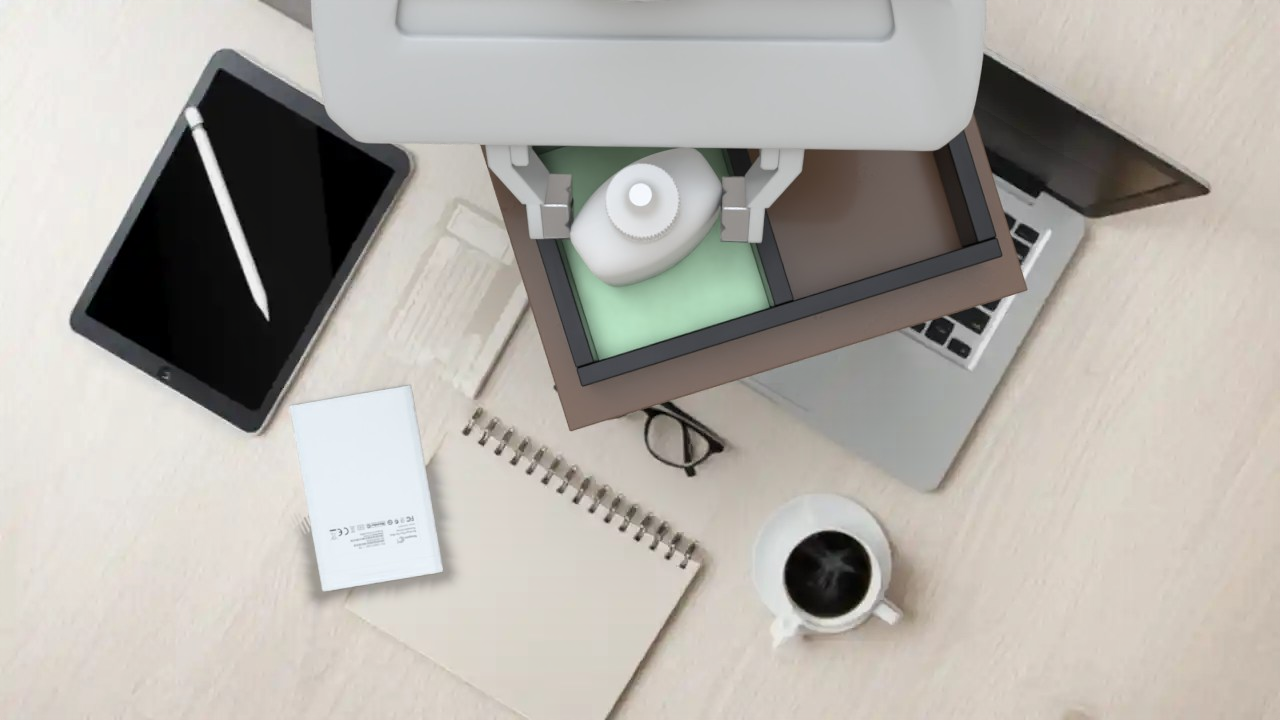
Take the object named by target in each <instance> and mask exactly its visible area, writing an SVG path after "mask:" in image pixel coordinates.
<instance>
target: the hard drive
mask: <svg viewBox="0 0 1280 720" xmlns="http://www.w3.org/2000/svg"><path fill="white" fill-rule="evenodd" d="M413 394H414V393H413V389H412V384H407V385H402V386H396V387H395V386H394V387H390V388H384V389H379V390H378V389H377V390H373V391H366V392H361V393H355V394H349V395H343V396H338V397H332V398H326V399H321V400H315V401H314V400H313V401H309V402H303V403H302V402H301V403H297V404H290V405H289V406H288V407H289V408H288V409H289V412H290V418H291V425H292V429H293V435H294V440H295V446H296V451H297V458H298V463H299V468H300V474H301V479H302V485H303V490H304V496H305V501H306V502H305V503H306V507H307V514H308V518H309V524H310V529H311V536H312V541H313V546H314V552H315V557H316V563H317V568H318V572H319V573H318V574H319V579H320V585H321V591H322V592H332V591H336V590H342V589H348V588H355V587H360V586H361V587H362V586H367V585H373V584H378V583H384V582H391V581H397V580H403V579H404V580H405V579H411V578H416V577H420V576H421V577H422V576H428V575H434V574H439V573H442V572H444V568H443V567H444V566H443V560H442V556H441V550H440V545H439V538H438V533H437V532H438V531H437V527H436V521H435V514H434V509H433V502H432V497H431V491H430V484H429V479H428V474H427V467H426V462H425V456H424V450H423V445H422V440H421V439H422V438H421V433H420V428H419V422H418V417H417V411H416V405H415V399H414V395H413Z"/></svg>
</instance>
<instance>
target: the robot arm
mask: <svg viewBox="0 0 1280 720" xmlns="http://www.w3.org/2000/svg"><path fill="white" fill-rule="evenodd" d="M987 7H988V0H310V12H311V26H312V34H313V35H312V37H313V46H314V54H315V61H316V69H317V75H318V81H319V86H320V91H321V96H322V101H323V106H324V109H325V112H326V114H327V116H328V117H329V119H330V120H332V121H333V122H334V123H335V124H336V125H337V126H338V128H340V129H341V130H342V131H344V132H345V133H346V134H347V135H348V136H349V137H351V139H353V140H354V141H356V142H359V143H363V144H396V145H397V144H400V145H401V144H402V145H403V144H406V145H409V144H410V145H467V146H468V145H470V146H473V145H474V146H475V145H476V146H478V145H479V146H480V145H485V147H486V154H487V161H488V167H489V168H490V169H491V170H492V171H493V172H494V173H495V174H496V176H497V177H498V178H499V179H500V180H501V181H502V182H503V183H504V184H505V186H506V187H507V188H508V189H509V190H510V191H511V192H512V193H513V194H514V196H515V197H516V198H517V199H518V200H519V201H520V202H521V203H522V204H526V209H527V218H528V227H529V235H530V238H531V239H570V240H571V238H570V230H571V226H572V224H573V222H574V214H575V207H574V199H573V198H572V196H573V178H572V174H549V173H550V172H549V171H548V170H547V168H546V167H545V166H544V164H543V163H542V162H541V160H540V159H539V157H538V156H537V155H536V153H535V152H534V151H533V149H532V145H538V146H610V147H683V148H755V149H759V151H760V156H759V157H758V158H757V160H756V161H755V162H754V164H753V165H752V166H751V168H750V169H749V170H748V172H747V173H746V174H745V177H722V199H721V206H720V242H741V243H761V242H762V236H763V225H764V214H765V208H769V207H770V206H771V205H772V204H773V203H774V202H775V201H776V199H777V198H778V197H779V196H780V195H781V194H782V193H783V192H784V191H785V189H786V188H787V187H788V186H789V185H790V184H791V183H792V182H793V181H794V179H795V178H796V177H797V176H798V175H799V174H800V173H801V172H802V166H803V158H804V150H805V149H825V150H894V151H935V150H938V149H940V148H942V147H943V146H944V145H946V144H947V143H948V142H950V141H951V140H952V139H953V138H954V137H956V136H957V135H958V134H959V133H960V132H961V131H962V130H964V129H965V128H966V127H967V126H968V124H969V123H970V120H971V118H972V114H973V113H974V110H975V106H976V102H977V96H978V93H979V92H978V91H979V86H980V80H981V76H982V75H981V74H982V66H983V61H984V52H985V44H986V29H987V11H988V9H987Z"/></svg>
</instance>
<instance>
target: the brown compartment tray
mask: <svg viewBox="0 0 1280 720" xmlns="http://www.w3.org/2000/svg"><path fill="white" fill-rule="evenodd" d="M976 119H977V118H976V116H975V113H974V112H973V114H972V118H971V120H970V123H969V124H968V126H967V127H966V128H965V129H964V130H962V131H961V132H960V133H959V134H958V135H957V136H956V137H954V138H953V139H952V140H951V141H950V142H948V143H947V144H946V145H944V146H943V147H942V148H940V149H938V150H935V151H894V150H825V149H805V150H804V158H803V166H802V172H801V173H800V174H799V175H798V176H797V177H796V178H795V179H794V181H793V182H792V183H791V184H790V185H789V186H788V187H787V188H786V189H785V191H784V192H783V193H782V194H781V195H780V196H779V197H778V198H777V199H776V201H775V202H774V203H773V204H772V205H771V206H770V207H769V208H765V214H764V225H763V236H762V242H761V243H741V242H720V211H719V215H718V218H717V220H716V222H715V224H714V225H713V227H712V228H711V230H710V231H709V233H708V234H707V235H706V237H705V238H704V239H703V240H702V241H701V243H700V244H699V245H698V246H697V247H696V248H695V249H694V250H693V251H692V252H691V253H690V254H689V255H688V256H686V257H685V258H684V259H683V260H681V261H680V262H679V263H677V264H676V265H675V266H673V267H671V268H670V269H668V270H666V271H665V272H663V273H661V274H659V275H657V276H655V277H652V278H650V279H647V280H644V281H641V282H638V283H635V284H631V285H626V286H619V287H615V286H609V285H608V284H606V283H605V282H603V281H602V280H600V279H599V278H598V277H597V276H595V275H594V274H593V273H592V272H591V271H590V269H589V268H588V267H587V265H586V264H585V262H584V261H583V260H582V258H581V257H580V255H579V254H578V252H577V251H576V249H575V247H574V246H573V244H572V242H571V240H570V239H531V238H530V235H529V227H528V218H527V209H526V204H522V203H521V202H520V201H519V200H518V199H517V198H516V197H515V196H514V194H513V193H512V192H511V191H510V190H509V189H508V188H507V187H506V186H505V184H504V183H503V182H502V181H501V180H500V179H499V178H498V177H497V176H496V174H495V173H494V172H493V171H492V170H491V169H490V168H489V167H488V161H487V154H486V147H485V145H479V146H480V150H481V152H482V155H483V159H484V162H485V165H486V168H487V171H488V175H489V177H490V181H491V184H492V187H493V190H494V194H495V197H496V200H497V204H498V206H499V210H500V213H501V216H502V219H503V222H504V226H505V229H506V232H507V236H508V239H509V242H510V244H511V248H512V252H513V254H514V258H515V261H516V265H517V268H518V271H519V274H520V277H521V279H522V284H523V286H524V290H525V293H526V296H527V299H528V303H529V306H530V309H531V312H532V315H533V319H534V322H535V325H536V327H537V331H538V334H539V338H540V341H541V344H542V347H543V351H544V354H545V357H546V361H547V363H548V366H549V367H548V368H549V370H550V374H551V376H552V379H553V383H554V386H555V389H556V393H557V396H558V399H559V402H560V405H561V408H562V411H563V414H564V417H565V421H566V424H567V427H568V430H569V432H574V431H577V430H581V429H583V428H587V427H590V426H593V425H596V424H600V423H603V422H606V421H609V420H613V419H616V418H619V417H623V416H625V415H629V414H632V413H636V412H639V411H642V410H645V409H650V408H653V407H655V406H658V405H661V404H664V403H668V402H671V401H674V400H675V401H676V400H677V399H682V398H685V397H688V396H691V395H693V394H697V393H701V392H705V391H707V390H710V389H713V388H717V387H720V386H723V385H726V384H730V383H732V382H736V381H739V380H742V379H745V378H748V377H749V378H750V377H752V376H756V375H758V374H762V373H766V372H768V371H772V370H775V369H779V368H782V367H784V366H788V365H791V364H794V363H797V362H798V363H799V362H801V361H805V360H807V359H810V358H814V357H816V356H821V355H823V354H827V353H830V352H833V351H836V350H840V349H843V348H846V347H850V346H852V345H856V344H859V343H862V342H866V341H869V340H872V339H876V338H878V337H881V336H885V335H889V334H892V333H895V332H898V331H901V330H905V329H909V328H911V327H914V326H918V325H921V324H924V323H927V322H930V321H934V320H937V319H940V318H943V317H946V316H951V315H954V314H956V313H960V312H963V311H965V310H969V309H973V308H976V307H979V306H983V305H986V304H988V303H992V302H996V301H999V300H1001V299H1005V298H1008V297H1012V296H1014V295H1018V294H1021V293H1024V292H1027V291H1028V286H1027V283H1026V280H1025V275H1024V273H1023V270H1022V266H1021V263H1020V260H1019V257H1018V253H1017V250H1016V246H1015V243H1014V240H1013V237H1012V234H1011V231H1010V228H1009V224H1008V221H1007V217H1006V215H1005V214H1006V213H1005V211H1004V208H1003V205H1002V201H1001V198H1000V194H999V191H998V188H997V184H996V181H995V179H994V176H993V172H992V168H991V166H990V163H989V159H988V156H987V152H986V149H985V145H984V143H983V138H982V136H981V132H980V129H979V125H978V124H977V120H976ZM676 148H683V147H610V146H538V145H532V149H533V151H534V152H535V153H536V155H537V156H538V157H539V159H540V160H541V162H542V163H543V164H544V166H545V167H546V168H547V170H548V171H549V172H550V173H549V174H572V178H573V196H572V198H573V199H574V207H575V214H574V220H575V218H576V216H577V215H578V213H579V211H580V210H581V208H582V207H583V206H584V204H585V203H586V202H587V200H588V199H589V198H590V197H591V196H592V194H593V193H594V192H595V191H596V190H597V189H598V188H599V187H600V186H601V185H602V184H603V183H604V182H606V181H607V180H608V179H609V178H610V177H611V176H613V175H614V174H616V173H617V172H618V171H620V170H621V169H623V168H625V167H626V166H628V165H630V164H632V163H633V162H635V161H638V160H640V159H642V158H644V157H647V156H650V155H652V154H656V153H659V152H662V151H666V150H671V149H676ZM693 149H696V150H697V151H698V152H700V153H701V154H702V155H703V157H704V158H705V159H706V161H707V162H708V164H709V165H710V166H711V168H712V169H713V171H714V172H715V174H716V176H717V177H718V179H719V181H720V182H721V184H722V177H745V174H746V173H747V172H748V170H749V169H750V168H751V166H752V165H753V164H754V162H755V161H756V160H757V158H758V157H759V156H760V151H759V149H755V148H693Z"/></svg>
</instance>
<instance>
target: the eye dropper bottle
mask: <svg viewBox="0 0 1280 720" xmlns="http://www.w3.org/2000/svg"><path fill="white" fill-rule="evenodd" d="M721 199H722V184H721V182H720V181H719V179H718V177H717V176H716V174H715V172H714V171H713V169H712V168H711V166H710V165H709V164H708V162H707V161H706V159H705V158H704V157H703V155H702V154H701V153H700V152H698V151H697V150H696V149H693V148H676V149H671V150H666V151H662V152H659V153H656V154H652V155H650V156H647V157H644V158H642V159H640V160H638V161H635V162H633V163H632V164H630V165H628V166H626V167H625V168H623V169H621V170H620V171H618V172H617V173H616V174H614V175H613V176H611V177H610V178H609V179H608V180H607V181H606V182H604V183H603V184H602V185H601V186H600V187H599V188H598V189H597V190H596V191H595V192H594V193H593V194H592V196H591V197H590V198H589V199H588V200H587V202H586V203H585V204H584V206H583V207H582V208H581V210H580V211H579V213H578V215H577V216H576V218H575V220H574V222H573V224H572V226H571V230H570V238H571V242H572V244H573V246H574V247H575V249H576V251H577V252H578V254H579V255H580V257H581V258H582V260H583V261H584V262H585V264H586V265H587V267H588V268H589V269H590V271H591V272H592V273H593V274H594V275H595V276H597V277H598V278H599V279H600V280H602V281H603V282H605V283H606V284H608V285H609V286H615V287H619V286H626V285H631V284H635V283H638V282H641V281H644V280H647V279H650V278H652V277H655V276H657V275H659V274H661V273H663V272H665V271H666V270H668V269H670V268H671V267H673V266H675V265H676V264H677V263H679V262H680V261H681V260H683V259H684V258H685V257H686V256H688V255H689V254H690V253H691V252H692V251H693V250H694V249H695V248H696V247H697V246H698V245H699V244H700V243H701V241H702V240H703V239H704V238H705V237H706V235H707V234H708V233H709V231H710V230H711V228H712V227H713V225H714V224H715V222H716V220H717V218H718V215H719V211H720V206H721Z"/></svg>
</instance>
